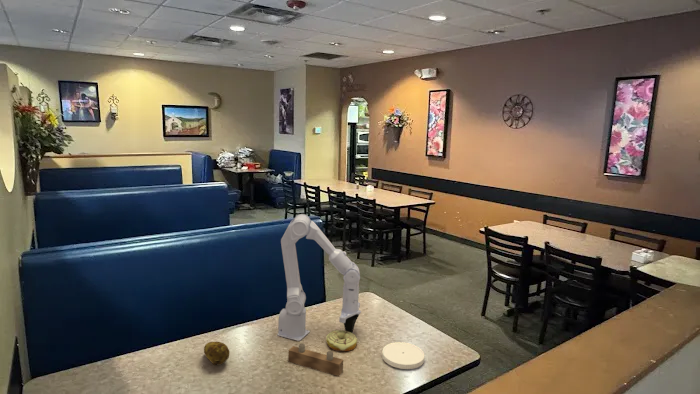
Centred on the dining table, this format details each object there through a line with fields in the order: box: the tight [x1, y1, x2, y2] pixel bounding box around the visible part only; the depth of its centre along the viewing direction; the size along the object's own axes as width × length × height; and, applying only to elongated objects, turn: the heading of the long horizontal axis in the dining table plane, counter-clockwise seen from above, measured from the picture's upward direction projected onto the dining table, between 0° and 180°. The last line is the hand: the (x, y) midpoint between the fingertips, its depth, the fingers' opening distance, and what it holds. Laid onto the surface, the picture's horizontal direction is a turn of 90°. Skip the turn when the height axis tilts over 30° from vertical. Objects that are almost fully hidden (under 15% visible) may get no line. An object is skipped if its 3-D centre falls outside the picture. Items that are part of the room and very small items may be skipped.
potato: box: [203, 341, 230, 366], centre depth 133 cm, size 8×13×8 cm, turn 13°
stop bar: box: [287, 343, 344, 377], centre depth 133 cm, size 18×3×6 cm, turn 67°
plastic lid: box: [381, 341, 425, 370], centre depth 139 cm, size 14×14×2 cm
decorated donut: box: [325, 329, 358, 352], centre depth 147 cm, size 10×11×4 cm
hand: (349, 333), depth 153 cm, fingers closed
